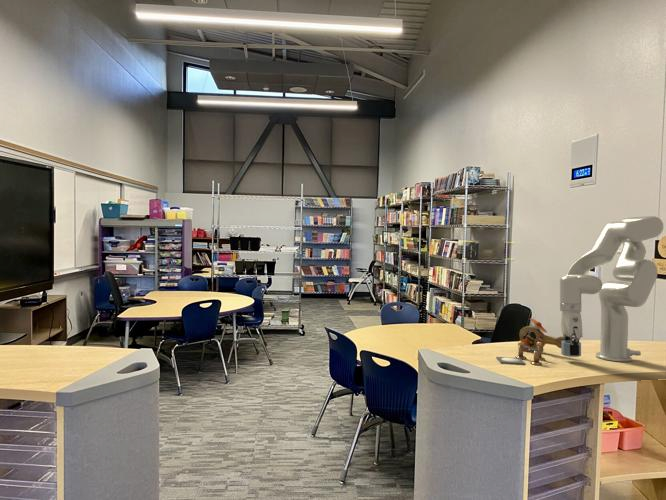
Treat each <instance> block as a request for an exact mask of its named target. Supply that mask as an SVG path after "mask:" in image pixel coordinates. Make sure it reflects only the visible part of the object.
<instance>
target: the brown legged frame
mask: <svg viewBox="0 0 666 500" xmlns="http://www.w3.org/2000/svg"><path fill="white" fill-rule="evenodd" d="M518 345H519V347H518V355H515V357H514V358H520V359H521V360H527V356H525V355H524V351H523V347H525V348H528V350H531V351H533V361H530V364H531V365H533V366H542V365H543V362H541V361H545V357H542V355H543V353H542V352H543V351H542V343H541V342H537V344H536V345H537V348H536V349H535V348H532V347H529V346H526V345H524V342H523V341H520V340H519V341H518V343H517V346H518Z"/></svg>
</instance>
